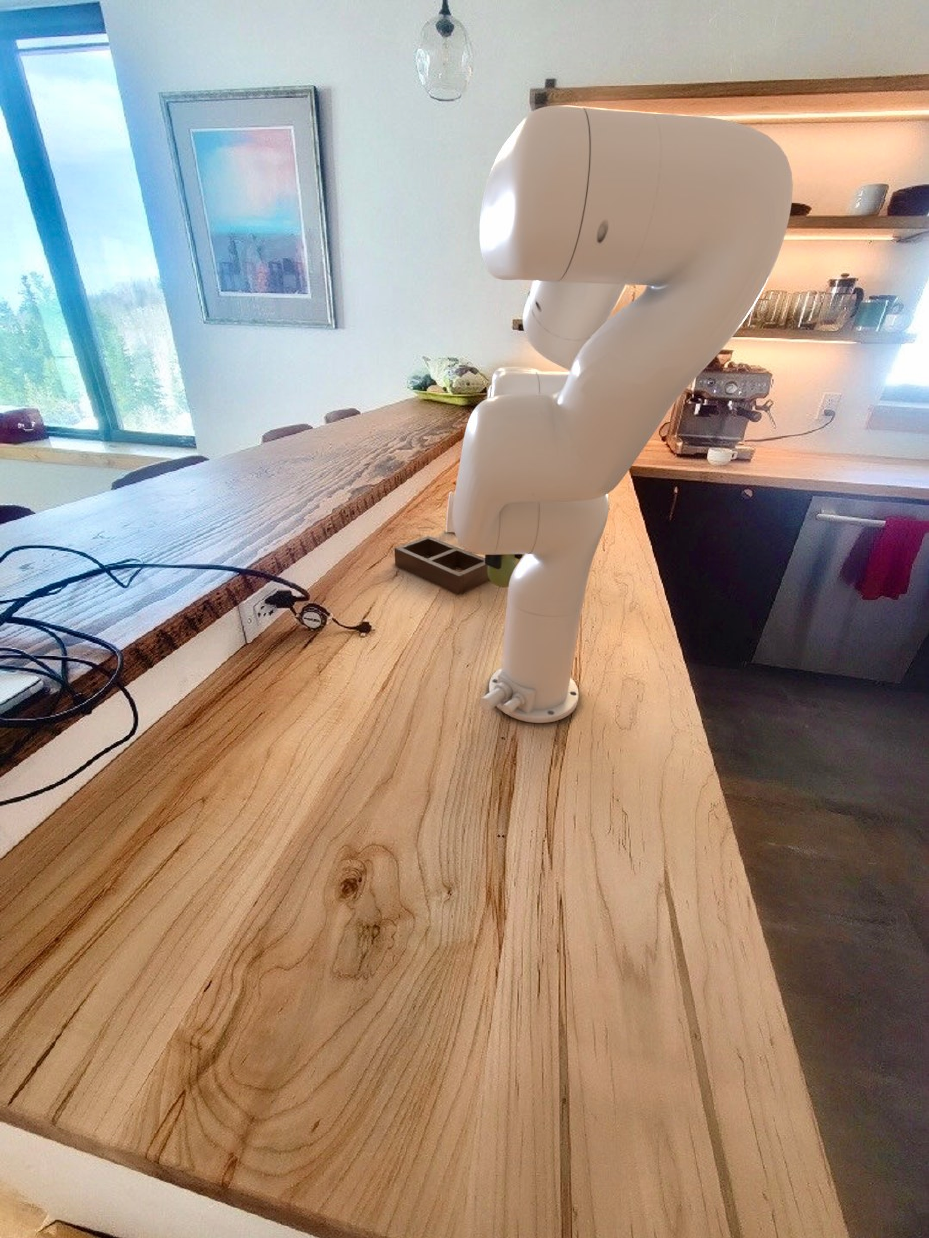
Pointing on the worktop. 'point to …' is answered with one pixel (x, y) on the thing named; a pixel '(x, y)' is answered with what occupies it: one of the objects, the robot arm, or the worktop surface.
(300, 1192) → the worktop surface
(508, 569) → the pear
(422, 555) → the divided tray
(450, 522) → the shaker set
